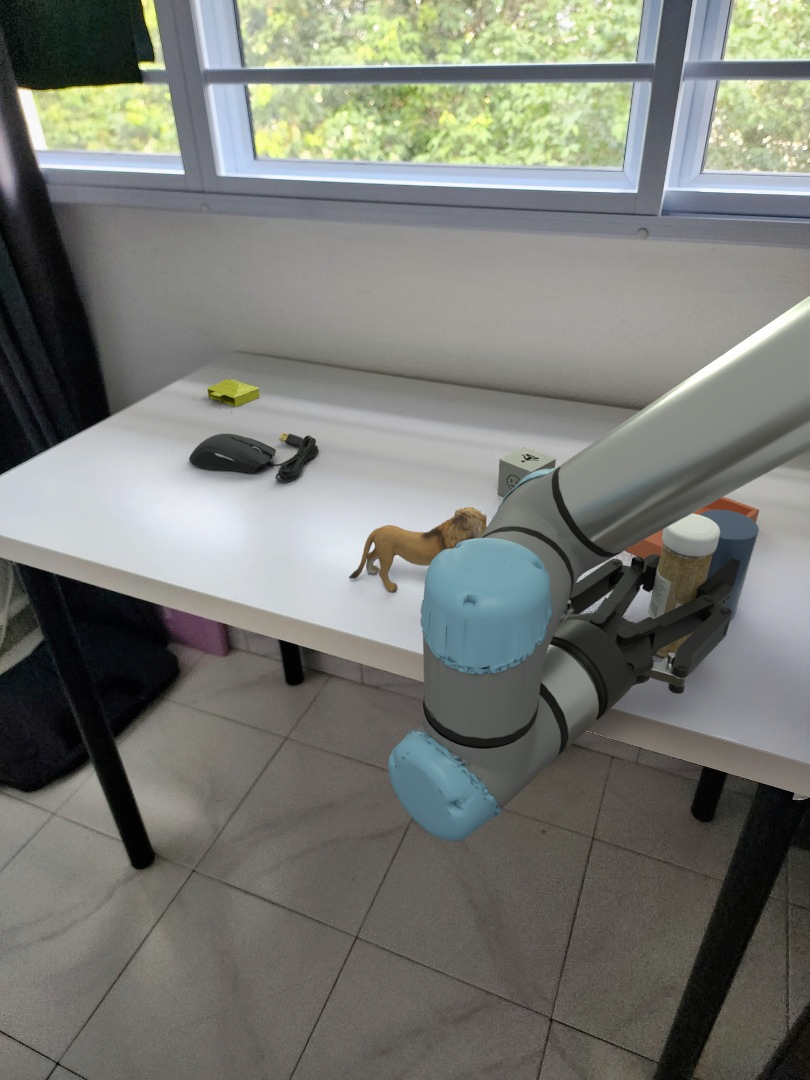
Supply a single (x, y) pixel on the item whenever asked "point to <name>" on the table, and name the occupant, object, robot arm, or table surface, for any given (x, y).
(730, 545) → the blue can
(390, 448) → the table surface
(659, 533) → the tray
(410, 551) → the lion figurine
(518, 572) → the robot arm
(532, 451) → the dice cube
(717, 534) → the spice jar
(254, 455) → the computer mouse
